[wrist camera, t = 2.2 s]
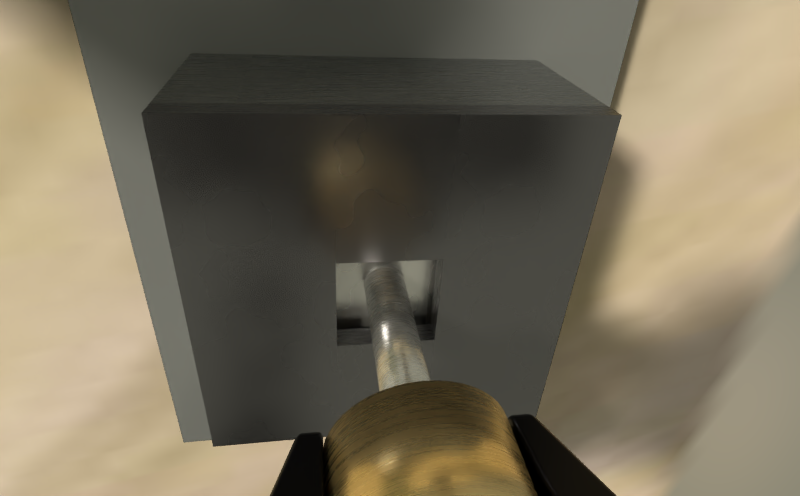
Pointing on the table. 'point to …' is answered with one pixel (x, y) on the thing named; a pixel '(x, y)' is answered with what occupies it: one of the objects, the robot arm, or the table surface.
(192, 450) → the table surface
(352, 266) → the golden knob
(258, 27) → the slate board
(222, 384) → the grey knob block
